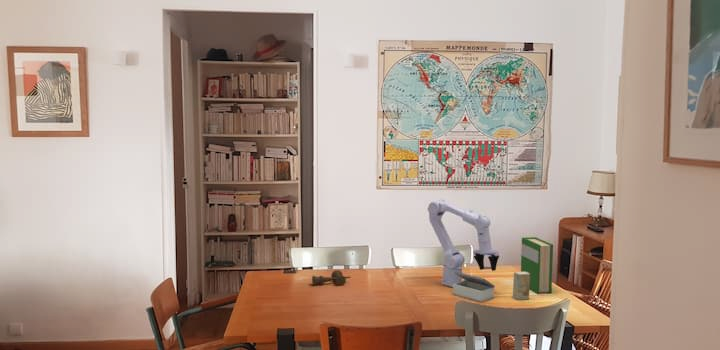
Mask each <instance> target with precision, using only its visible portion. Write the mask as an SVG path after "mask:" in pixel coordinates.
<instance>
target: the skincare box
mask: <svg viewBox="0 0 720 350" xmlns="http://www.w3.org/2000/svg"><path fill="white" fill-rule="evenodd" d="M529 285H530V274H529V273H527V272H521V271H514V272H513V287H512V297H513V298H514V299H515V300H518V301H519V300H520V301H521V300H530V290H529Z"/></svg>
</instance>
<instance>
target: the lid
mask: <svg viewBox="0 0 720 350" xmlns="http://www.w3.org/2000/svg"><path fill="white" fill-rule="evenodd" d="M454 273H455V274H456V275H458V276H459V277H461V278H462V280H463V281H465V280H466V281H470V282H474V283H478V284H482V285H486V286H490V287H494V288H495V287H496V285H494V284H493V283H492V282H490V281H488V280H487V279H486V278H484V277H483V278H482V277H478V276H476V275H475V276H474V275H471V274H466V273H463V272H462V273H459V272H454Z"/></svg>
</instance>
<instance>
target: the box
mask: <svg viewBox="0 0 720 350" xmlns="http://www.w3.org/2000/svg"><path fill="white" fill-rule="evenodd" d="M494 291H495V287H490V286H486V285H482V284H478V283H474V282H470V281H466V280H462V282H459V283H456V284H453V287H452V295H454V296H457V297H460V298H463V299H468V300H471V301H474V302H475V301H476V302H478V303H484V302H486V301H489V300H491V299H494V298H495V297H494V296H495V292H494Z"/></svg>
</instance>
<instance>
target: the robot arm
mask: <svg viewBox="0 0 720 350" xmlns="http://www.w3.org/2000/svg"><path fill="white" fill-rule="evenodd" d="M427 211H428V217H429V218H428V219H429V223H430V224H431V226H432V228H433V231H434V233H435V235H436V237H437V239H438V241H439V243H440V245H441V247H442V250H443V251H444V254H443V259H444V263H445V266H444V267H443V269H442V273H441V274H442V276H441V277H442V280H441V281H442V282H441V283H440V284H441V285H442V286H443V285H444V286H447V287H451V288H453V284H456V283H459V282H462V281H463V278H461V277H459V276H458V275H456V274H455V273H454V272H459V273H463V265H464V263H465V262H466V261H465V256H464V255H463V254H462V253H461V252H460V250H459V249H458V248H456V247H455V246H454V243H453V241H452V239H451V238H450V236H449V233H448V232H447V229H446V227H445V225H444V223H443V221H442V218H443V215H444V214H445V213H446V212H448V213H451V214H454V215H456V216H459V217H460V218H462V221H463V222H465V223H467V224H469V225H471V226H473V227H474V228H475V229H476V234H477V240H478V241H477V242H478V249H475V250H473V258H474V260H475V261H476V263H477V265H478V268H479V270H484V269H485V261H484V260H485V256H488V257H487V259H488V260H489V263H490V269H491V271H492V272H493V271H494V272H495V271H496V270H497V263H498V260H499V258H500V252H499V251H498V250H493V249H492V244H491V234H490V226H491V220H490V219H489V217H487V216H486V215H485V216H482V215H481V214H477V213H475V212H473V210H471V209H467V210H464V209H462V208H459V207H458V206H456V205H454V204H452V203H451V202H450V201H448V200H445V199H440V200H435V201H433V200H432V201H430V203H429V204H428V206H427Z"/></svg>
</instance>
